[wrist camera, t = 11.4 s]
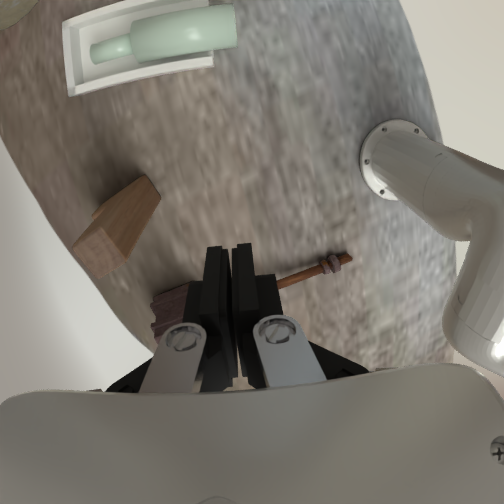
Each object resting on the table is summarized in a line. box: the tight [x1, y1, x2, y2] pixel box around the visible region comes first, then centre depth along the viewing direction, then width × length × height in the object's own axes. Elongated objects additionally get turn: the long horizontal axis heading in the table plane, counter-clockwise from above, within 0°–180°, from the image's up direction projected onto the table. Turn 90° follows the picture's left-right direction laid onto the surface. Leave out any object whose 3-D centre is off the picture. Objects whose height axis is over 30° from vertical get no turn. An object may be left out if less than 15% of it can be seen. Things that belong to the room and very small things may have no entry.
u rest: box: [62, 0, 215, 97], centre depth 32 cm, size 20×11×3 cm, turn 95°
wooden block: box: [72, 175, 161, 279], centre depth 37 cm, size 9×4×18 cm, turn 119°
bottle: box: [89, 3, 238, 65], centre depth 31 cm, size 6×6×18 cm
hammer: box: [150, 254, 352, 344], centre depth 50 cm, size 7×33×10 cm, turn 107°
